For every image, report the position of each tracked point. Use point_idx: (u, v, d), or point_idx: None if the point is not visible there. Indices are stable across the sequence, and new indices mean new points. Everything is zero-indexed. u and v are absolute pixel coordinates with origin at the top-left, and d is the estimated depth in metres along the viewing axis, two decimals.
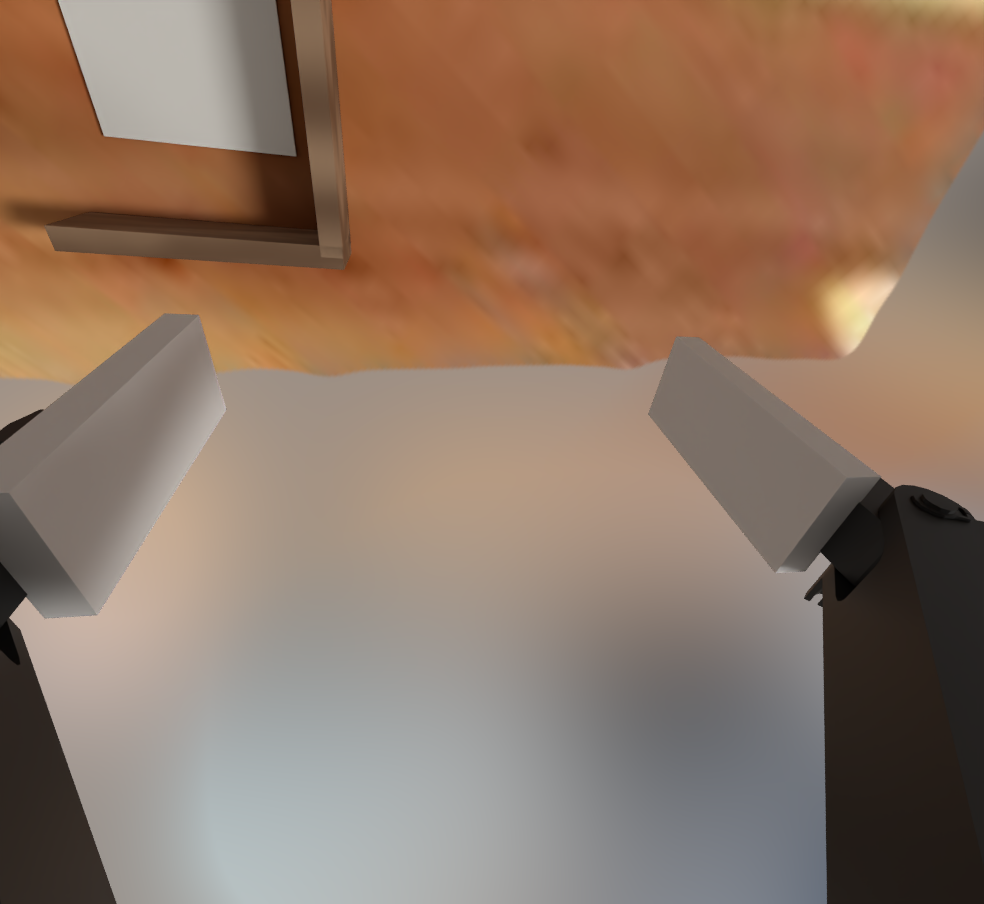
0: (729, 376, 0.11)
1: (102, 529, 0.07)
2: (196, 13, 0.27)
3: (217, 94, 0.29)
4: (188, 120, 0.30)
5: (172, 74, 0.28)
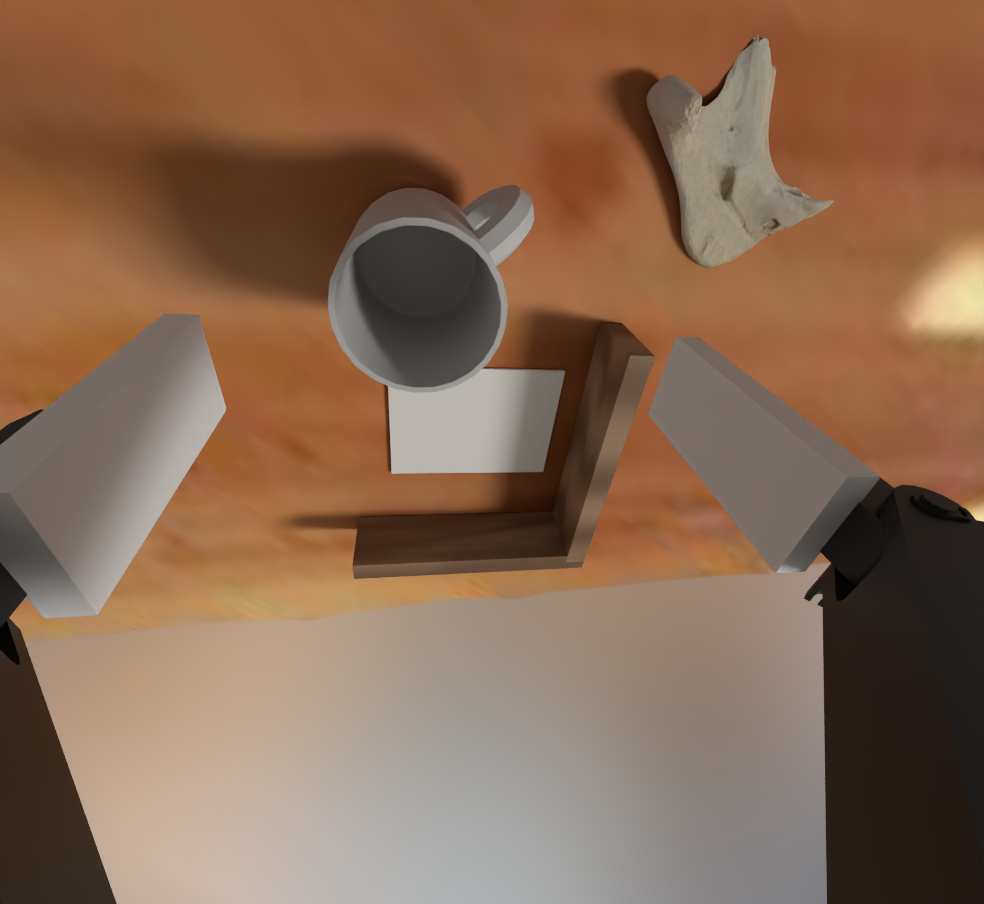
0: (729, 376, 0.11)
1: (102, 529, 0.07)
2: (494, 396, 0.31)
3: (493, 442, 0.33)
4: (464, 458, 0.34)
5: (462, 433, 0.33)
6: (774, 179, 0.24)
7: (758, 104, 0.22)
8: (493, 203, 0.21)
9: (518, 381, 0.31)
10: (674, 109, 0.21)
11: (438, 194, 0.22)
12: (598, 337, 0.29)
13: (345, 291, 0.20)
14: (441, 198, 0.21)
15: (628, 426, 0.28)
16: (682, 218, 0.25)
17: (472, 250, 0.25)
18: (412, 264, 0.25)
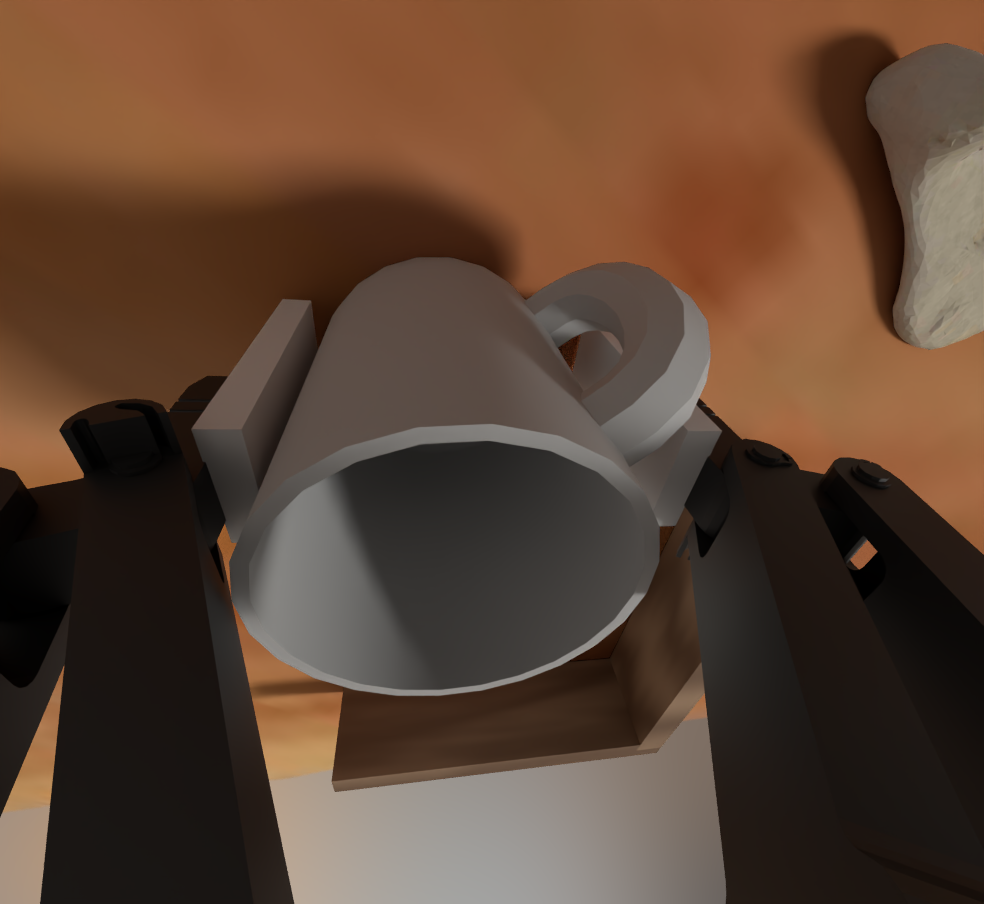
0: (620, 348, 0.12)
1: None
2: None
3: None
4: None
5: None
6: None
7: None
8: (595, 301, 0.10)
9: None
10: (957, 111, 0.10)
11: (479, 272, 0.12)
12: None
13: None
14: (488, 285, 0.11)
15: None
16: (904, 286, 0.15)
17: None
18: None
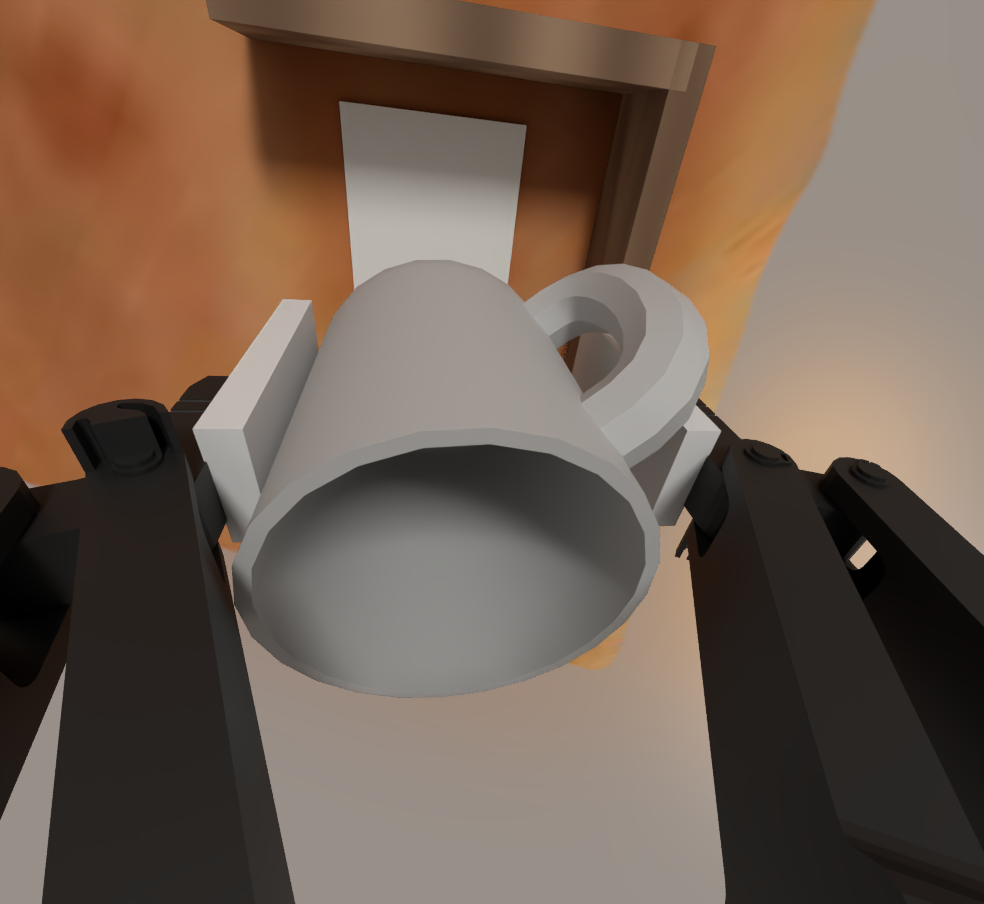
0: (619, 348, 0.12)
1: None
2: (391, 217, 0.24)
3: (462, 218, 0.24)
4: (487, 260, 0.26)
5: None
6: None
7: None
8: (593, 303, 0.10)
9: (363, 183, 0.23)
10: None
11: (478, 274, 0.12)
12: (272, 41, 0.19)
13: None
14: (487, 288, 0.11)
15: None
16: None
17: None
18: None
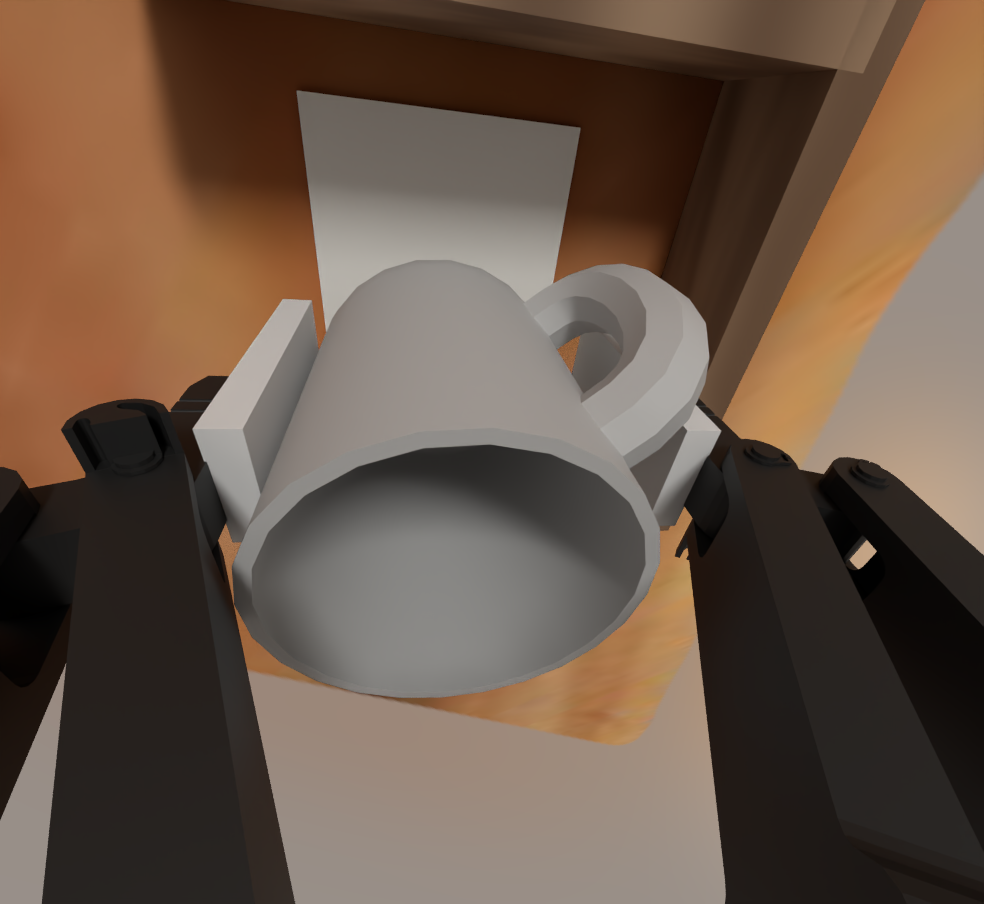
0: (619, 348, 0.12)
1: None
2: (380, 260, 0.17)
3: (482, 260, 0.17)
4: None
5: None
6: None
7: None
8: (593, 303, 0.10)
9: (338, 213, 0.15)
10: None
11: (478, 274, 0.12)
12: None
13: None
14: (487, 288, 0.11)
15: None
16: None
17: None
18: None
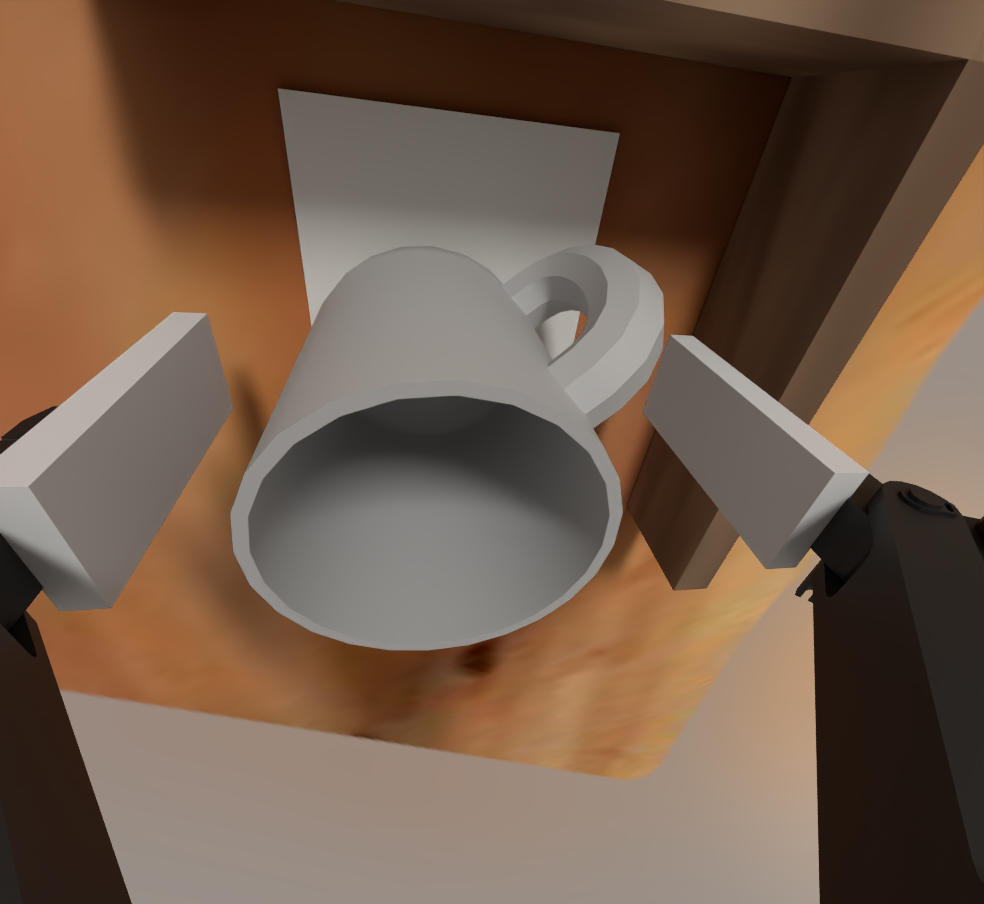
0: (721, 374, 0.11)
1: (116, 524, 0.08)
2: None
3: None
4: None
5: None
6: None
7: None
8: (565, 281, 0.11)
9: (330, 234, 0.13)
10: None
11: (459, 259, 0.12)
12: None
13: (291, 464, 0.10)
14: (466, 270, 0.12)
15: None
16: None
17: None
18: None
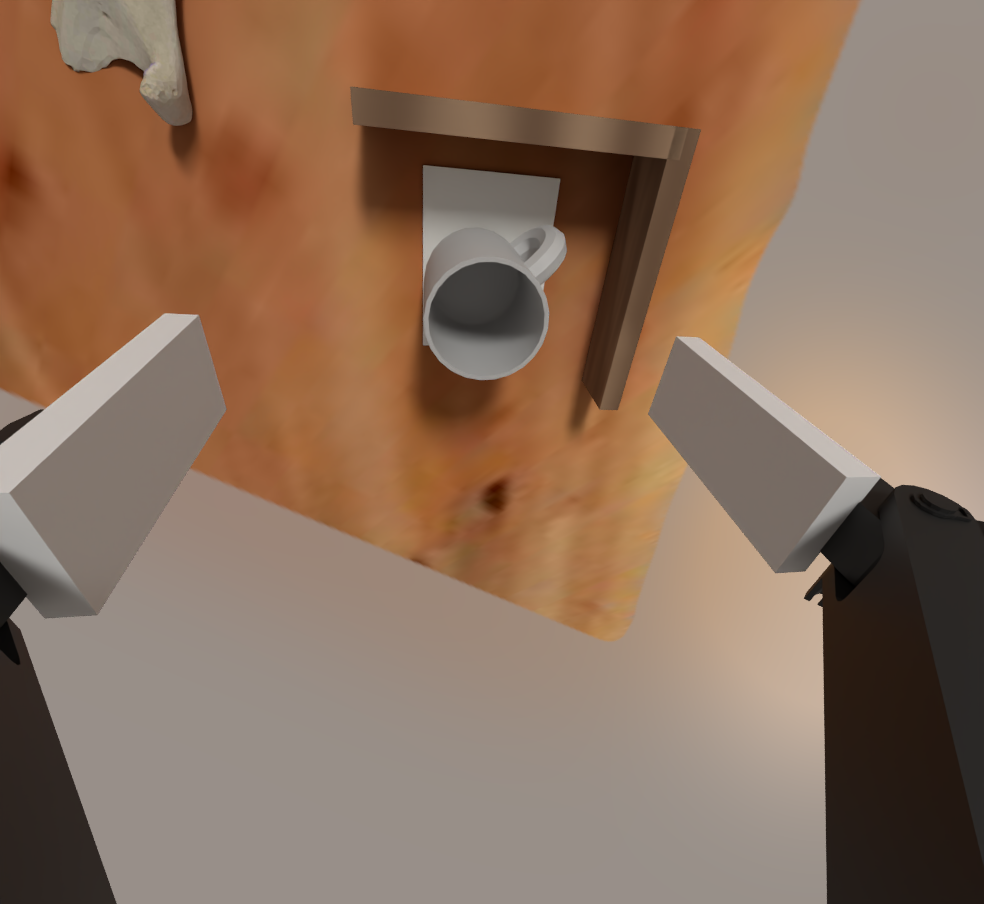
0: (729, 376, 0.11)
1: (102, 529, 0.07)
2: None
3: None
4: None
5: None
6: None
7: (72, 11, 0.22)
8: (534, 239, 0.28)
9: (436, 222, 0.30)
10: (167, 101, 0.23)
11: (491, 232, 0.29)
12: None
13: None
14: (495, 236, 0.29)
15: (448, 101, 0.23)
16: None
17: (515, 271, 0.32)
18: (469, 284, 0.32)
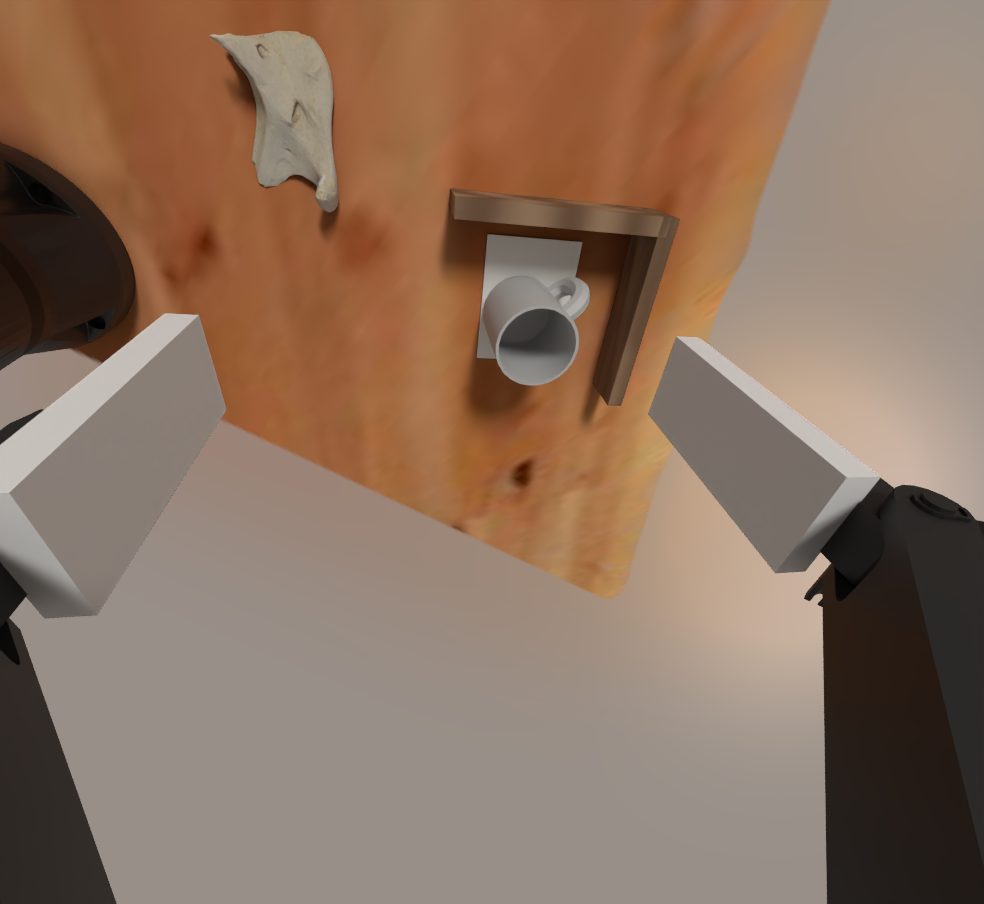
0: (729, 376, 0.11)
1: (102, 529, 0.07)
2: None
3: None
4: None
5: None
6: (260, 93, 0.31)
7: (268, 151, 0.34)
8: (566, 286, 0.40)
9: (493, 272, 0.42)
10: (330, 199, 0.35)
11: (534, 280, 0.41)
12: None
13: None
14: (537, 283, 0.41)
15: (516, 204, 0.34)
16: (331, 112, 0.33)
17: None
18: None
